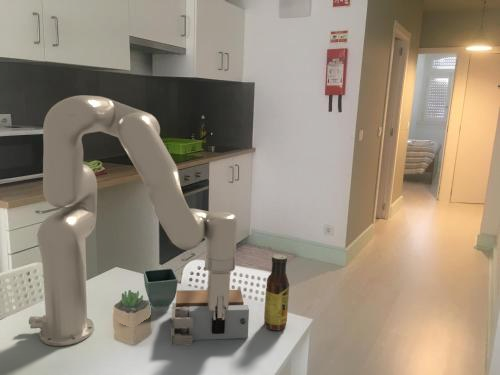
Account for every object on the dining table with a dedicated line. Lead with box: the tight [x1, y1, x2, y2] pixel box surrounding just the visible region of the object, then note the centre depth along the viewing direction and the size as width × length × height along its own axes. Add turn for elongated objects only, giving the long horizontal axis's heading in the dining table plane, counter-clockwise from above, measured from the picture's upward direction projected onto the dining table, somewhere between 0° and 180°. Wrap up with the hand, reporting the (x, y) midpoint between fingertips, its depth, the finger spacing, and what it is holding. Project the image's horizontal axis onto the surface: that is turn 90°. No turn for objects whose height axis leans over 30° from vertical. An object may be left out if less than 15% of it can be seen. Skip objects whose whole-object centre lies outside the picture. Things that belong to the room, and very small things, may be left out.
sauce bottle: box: [263, 253, 290, 332], centre depth 112 cm, size 6×6×20 cm
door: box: [179, 304, 250, 341], centre depth 106 cm, size 17×3×8 cm, turn 97°
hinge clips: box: [170, 302, 193, 346], centre depth 106 cm, size 5×8×7 cm, turn 7°
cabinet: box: [175, 289, 245, 307], centre depth 115 cm, size 18×8×7 cm, turn 97°
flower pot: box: [143, 267, 179, 308], centre depth 123 cm, size 9×9×9 cm
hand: (217, 328), depth 107 cm, fingers open, 2 cm apart
